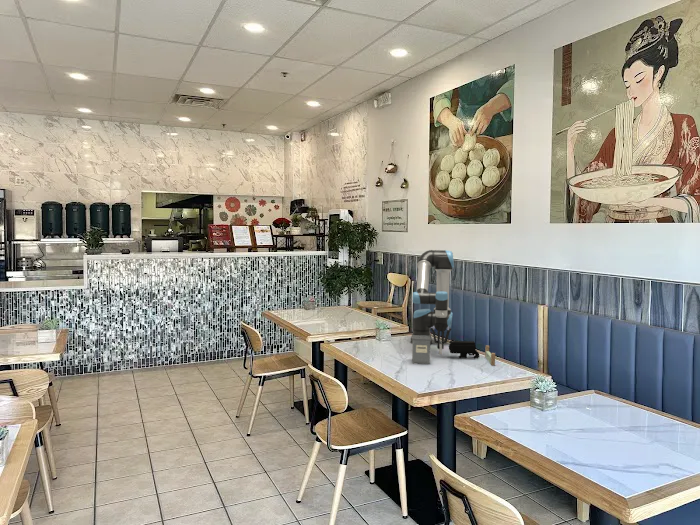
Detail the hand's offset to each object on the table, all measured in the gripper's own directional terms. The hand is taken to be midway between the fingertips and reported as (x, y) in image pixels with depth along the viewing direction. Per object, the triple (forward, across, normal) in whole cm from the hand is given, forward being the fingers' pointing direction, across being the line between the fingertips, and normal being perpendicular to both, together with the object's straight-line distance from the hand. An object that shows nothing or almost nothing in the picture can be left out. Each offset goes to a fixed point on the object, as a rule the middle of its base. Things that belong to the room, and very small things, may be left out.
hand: (440, 353), depth 326 cm
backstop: (+2, +29, -7) cm, 30 cm away
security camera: (+2, +15, -1) cm, 15 cm away
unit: (+2, -13, -13) cm, 18 cm away
